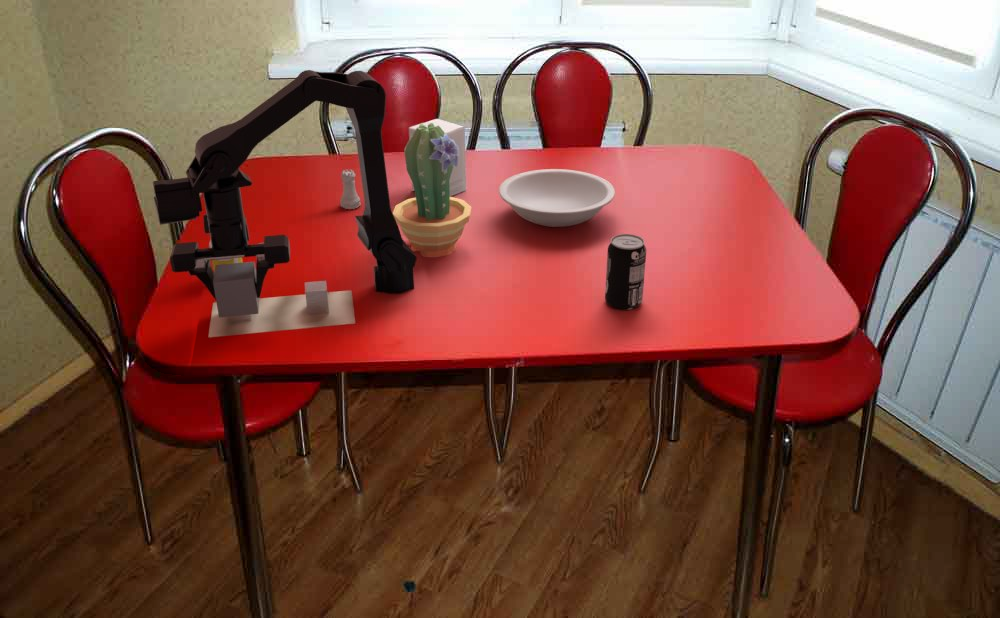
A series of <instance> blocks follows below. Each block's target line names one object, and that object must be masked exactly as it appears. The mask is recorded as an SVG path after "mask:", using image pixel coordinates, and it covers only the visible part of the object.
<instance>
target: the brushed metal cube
mask: <svg viewBox="0 0 1000 618" xmlns="http://www.w3.org/2000/svg"><path fill="white" fill-rule="evenodd" d="M243 321H252V314H250V315H239V316H229V322H230V323H233V322H243Z"/></svg>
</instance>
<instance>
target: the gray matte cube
mask: <svg viewBox="0 0 1000 618" xmlns="http://www.w3.org/2000/svg"><path fill="white" fill-rule="evenodd" d="M213 274H214V279H213V285H214V291H215V297H216V300H215V303H217V309H218V315H219V317H229V316H239V315H250V314H258V312H259V299H260V298H258V297H257V292H256V262H255V261H246V262H243V263H232V264H221V265H216V266H215V272H214V271H213Z"/></svg>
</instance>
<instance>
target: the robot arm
mask: <svg viewBox="0 0 1000 618" xmlns="http://www.w3.org/2000/svg"><path fill="white" fill-rule="evenodd" d="M386 101H387V94H386V92H385V88H384V87H383V85H382V84H381V83H379V82H378V80H376V79H375V78H373V77H372V75H370V74H368V72H365V71H363V70H354V71H352V72H349V73H343V72H336V71H335V72H334V71H328V72H327V71H326V72H325V71H314V70H311V69H307V70H303V71H301V72H300V73H299V74H298V75H297V76H296V78H295V79H293V80H291V82H289V83H288V84H286V85H285V86H284V87H282V88H281V89H279V90H278V91H276V92H275V93H274V94H272V95H271V96H270V97H269V98H268V99H266V100H265V101H263V102H262V103H261V104H259V105H258V106H257V107H256V108H254V109H253V110H251V111H250V112H249V113H248V114H246V115H245V116H243V117H242V118H241V119H238V120H236V121H235V122H233V123H228V124H226V125H225V124H224V125H222V126H219V127H217V128H215V129H214V130H212V131H209V132H207V133H206V134H204V135H202V136H201V137H200V138H198V140H197V141H196V143H195V147H194V153H195V155H194V157H193V159H192V161H191V163H190V164H189V166H188V168H187V169H186V171H185V175H186V177H182V178H181V177H180V178H173V179H167V180H166V179H158V180H153V181H152V187H153V192H154V193H153V194H154V196H153V201H154V205H155V210H156V211H155V212H156V216H157V219H158V223H159V225H160V226H161V225H162V226H163V225H167V224H174V223H180V222H187V221H192V220H197V217H200V213H201V212H203V205H202V200H201V195H200V194H203V200H204V206H205V207H204V208H205V212H206V214H203V215H202V217H203V219H202V220H203V229H204V234H206V235H207V234H209V236H210V237H209V238H210V240H211V243H212V248H209V247H207V248H205V247H204V248H199V247H200V246H199V243H198V242H197V241H189V242H177V243H175V244H174V245H173V246H172V249H171V252H170V257H169V259H170V260H169V262H170V267H171V272H173V273H185V272H186V273H187V272H188V273H189V276H195V277H196V278H198V280H199V281H200V282H201V283H202V284H203V285H204V287H206V289H207V290H208V292H209V293H210V294H211V296H212V297H213V299H214V300H215V301H216V297H215V291H214V285H213V279H214V270H213V266H212V260H216V259H228V258H240V257H242V258H249V257H250V258H251V257H256V263H255V268H256V292H257V297H258V298H259V299H260V298H261V294H262V289H263V285H264V282H265V278H266V276H267V274H268V272H269V270H271V269H274V268H275V267H276V266H275V265H278V264H280V265H281V264H287V263H289V262H290V261H291V245H290V238H289V236H287V235H286V234H273V235H265V236H263V237H264V239H263V242H260V243H259V242H258V243H257V244H256V243H255V244H253V243H252V244H249V241H250V233H249V227H248V224H247V217H246V216H245V213H244V207H243V206H244V205H243V199H242V194H241V188H245V187H250V186H252V185H253V182H252V180H251V177H250V176H249V175H248V174H246V173H244V172H243V171H242V170H241V169H240V167H241V166H242V165H243V164H244V163H245V162H246V161H247V159H248V158H249V156H250V155H251V153H252V152H253V150H254V149H255V148H256V147H257V146H258V144H260V143H261V142H262V141H264V140H265V139H267V138H268V137H269V136H271V134H273V133H275V132H276V131H277V130H279V129H280V128H281V127H282V126H284V125H285V124H287V123H288V122H289V121H290V120H292V119H293V118H294V117H296V116H297V115H299V114H300V113H301V112H302V111H304V110H306V109H307V108H308V107H309V106H311V105H312V104H313V103H315V102H322V103H326V104H330V105H335V106H339V107H342V108H345V109H346V111H347V114H348V117H349V119H350V122H351V124H352V126H353V129H354V135H355V140H356V149H357V156H358V163H359V170H360V177H361V184H362V194H363V200H364V209H363V213H362V215H355V218H354V219H355V221H356V224H357V233H356V234H357V237H358V239H359V240H360V242H361V243H362V244H363V245H364V247H365V248H366V250H367V251H369V252H370V253H371V254H372V256H373V257H374V259H376V265H374V266H373V278H374V288H375V289H374V290H375V292H377V293H386V294H391V295H399V294H404V293H406V292H409V291H410V290H414V289H415V280H414V279H415V278H414V268H415V265H416V262H417V260H418V257H417V255H416V254H415V253H414V251H412V250H411V248H410V246H409V245H408V244H407V243H406V241H405V240H404V239H403V237H402V234H401V231H400V228H399V227H400V226H399V224H398V223H397V222H396V220H395V218H394V215H393V210H392V209H391V208H392V207H391V200H390V192H389V185H388V177H387V168H386V161H385V160H386V159H385V153H384V152H385V151H384V145H383V135H382V129H383V124H384V121H385V117H386V107H387V106H386V103H387V102H386Z"/></svg>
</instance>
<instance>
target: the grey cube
mask: <svg viewBox="0 0 1000 618" xmlns="http://www.w3.org/2000/svg"><path fill="white" fill-rule="evenodd" d="M327 284H328V283H327V280H318V281H307V282H304V294H305V295H306V303H307V312H308V315H318V314H329V304H328V294H327V292H328V286H327Z"/></svg>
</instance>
